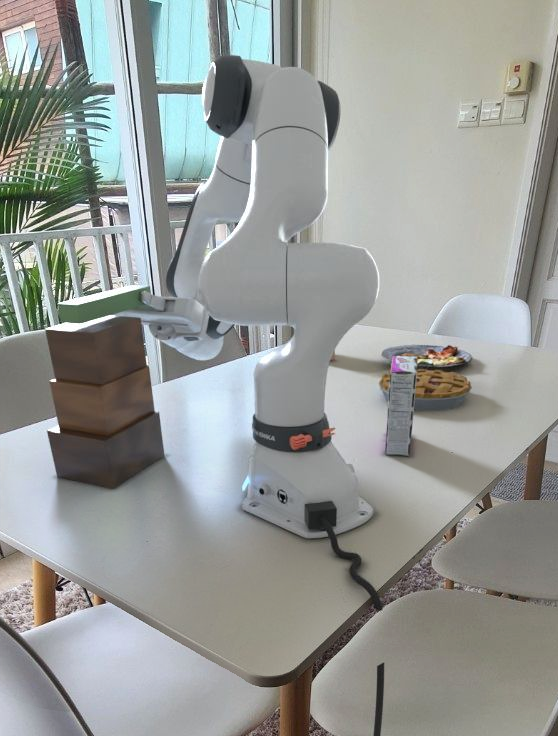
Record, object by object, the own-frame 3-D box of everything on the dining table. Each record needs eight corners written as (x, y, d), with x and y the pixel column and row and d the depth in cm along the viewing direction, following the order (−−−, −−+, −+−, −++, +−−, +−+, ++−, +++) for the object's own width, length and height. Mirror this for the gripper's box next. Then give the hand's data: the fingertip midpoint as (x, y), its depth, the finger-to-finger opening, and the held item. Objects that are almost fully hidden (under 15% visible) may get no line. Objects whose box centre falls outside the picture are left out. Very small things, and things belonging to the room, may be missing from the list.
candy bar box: (386, 434, 129) (392, 355, 120) (410, 436, 128) (418, 355, 119) (383, 455, 119) (389, 370, 111) (409, 457, 118) (418, 371, 110)
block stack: (111, 446, 127) (89, 313, 113) (164, 455, 122) (147, 318, 108) (56, 477, 114) (24, 331, 101) (113, 488, 109) (87, 338, 96)
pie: (372, 410, 142) (374, 388, 140) (381, 382, 160) (383, 363, 158) (471, 415, 137) (474, 393, 135) (469, 386, 156) (472, 366, 153)
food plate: (471, 354, 183) (473, 342, 181) (471, 376, 163) (472, 362, 162) (386, 350, 189) (387, 338, 187) (376, 371, 170) (377, 358, 168)
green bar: (134, 301, 117) (132, 284, 116) (152, 303, 116) (150, 285, 114) (61, 322, 102) (57, 303, 100) (80, 324, 100) (76, 304, 99)
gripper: (131, 302, 129) (87, 275, 116) (216, 308, 121) (179, 279, 109) (126, 333, 129) (82, 308, 117) (210, 340, 122) (173, 315, 109)
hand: (129, 294), depth 112 cm, fingers closed on green bar, 4 cm apart
